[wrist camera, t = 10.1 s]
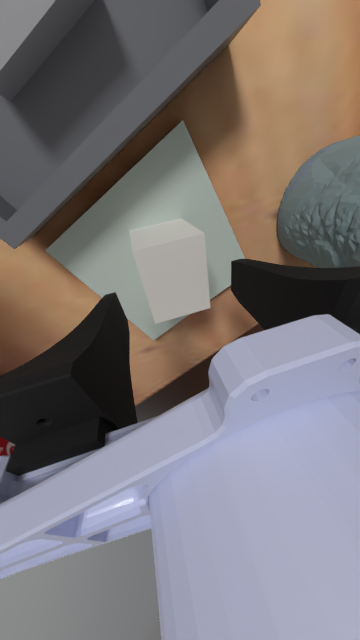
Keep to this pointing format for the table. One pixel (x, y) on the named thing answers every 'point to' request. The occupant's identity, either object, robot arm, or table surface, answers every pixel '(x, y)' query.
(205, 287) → the block
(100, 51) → the gray square tray
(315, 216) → the embossed green cup
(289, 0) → the table surface
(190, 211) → the sage mat
